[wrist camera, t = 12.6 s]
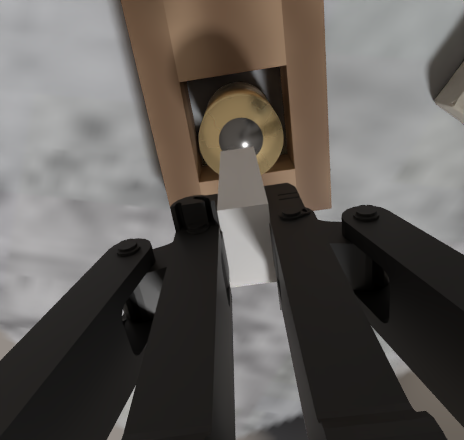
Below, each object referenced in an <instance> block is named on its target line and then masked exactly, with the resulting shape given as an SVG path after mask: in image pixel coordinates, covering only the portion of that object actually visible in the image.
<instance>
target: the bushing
mask: <svg viewBox="0 0 464 440" xmlns="http://www.w3.org/2000/svg"><path fill="white" fill-rule="evenodd" d="M283 140H284V137H283V128H282V125H281V122H280V120H279V118H278V116H277V114H276V113H275V111H274V110H273V108H272V106H271V105H270V103H269V102H268V100H267V99H266V97H265V95H264V94H263V93H262V92H261V91H260V90H259V89H258V88H256V87H255V86H253V85H251V84H249V83H245V82H232V83H229V84H226V85H224V86H222V87H221V88H219V89H218V90H217V91H216V92H215V93H214V94H213V95H212V97H211V99H210V101H209V103H208V106H207V108H206V111H205V114H204V117H203V120H202V123H201V126H200V130H199V147H200V151H201V154H202V156H203V158H204V160H205V162H206V163H207V164H208V166H209V167H210V168H211V169H212V170H214V171H215V172H216V173H218V174H219V168H220V151H227V150H234V149H240V148H247V147H254V150H255V154H256V158H257V162H258V166H259V169H260V173H261V175H262V174H264V173H265V172H267V171H268V170H269V169H270V168H271V167H272V166H273V165H274V164H275V162H276V161H277V159H278V158H279V156H280V153H281V151H282V147H283Z"/></svg>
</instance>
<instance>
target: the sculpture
mask: <svg viewBox="0 0 464 440" xmlns="http://www.w3.org/2000/svg"><path fill="white" fill-rule="evenodd" d="M434 102H435V104H436V105H438V106H439V107H440V108H442V109H443V110H445V111H446V112H448V113H449V114H450V115H452V116H453V117H455V118H456V119H457V120H459V121H460V122H461V123H463V124H464V61H463V63H462V64H461V65H460V67H459V68H458V69H457V71H456V72H455V73H454V75H453V76H452V77H451V79H450V80H449V81H448V83H447V84H446V86H445V87H444V88H443V89H442V91H441V92H440V93H439V95H438V96H437V97H436V99H435V101H434Z"/></svg>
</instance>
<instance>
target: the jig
mask: <svg viewBox="0 0 464 440" xmlns="http://www.w3.org/2000/svg"><path fill="white" fill-rule="evenodd" d="M121 4H122V8H123V12H124V16H125V21H126V25H127V29H128V33H129V37H130V42H131V46H132V50H133V54H134V58H135V62H136V67H137V71H138V75H139V79H140V83H141V88H142V92H143V96H144V100H145V104H146V108H147V113H148V117H149V121H150V125H151V129H152V133H153V138H154V142H155V146H156V150H157V154H158V159H159V163H160V167H161V171H162V175H163V179H164V184H165V188H166V192H167V196H168V200H169V205H170V206H171V205H172V204H173V203H174V202H176V201H177V200H180V199H182V198H185V197H189V196H194V195H212V194H218V186H219V174H218V173H216V172H215V171H214V170H212V169H211V168H210V167H209V166H208V165H206V166H202V161H201V155H200V150H199V145H198V140H197V134H196V129H195V124H194V118H193V113H192V108H191V103H190V97H189V92H188V87H187V81H190V80H196V79H203V78H209V77H215V76H221V75H228V74H234V73H240V72H247V71H253V70H259V69H265V68H272V67H278V66H280V77H281V88H282V99H283V111H284V122H285V134H286V145H287V154H281V155H280V156H279V158H278V159H277V161H276V162H275V164H274V165H273V166H272V167H271V168H270V169H269V170H268V171H267V172H265V173H264V174H262V175H261V177H262V181H263V185H264V186H267V185H274V184H281V183H289V184H291V185H293V186H295V187H296V189H297V191H298V193H299V196H300V198H301V200H302V202H303V204H304V206H305V207H306V208H309V209H311V210H312V211H315V210H323V209H330V208H331V182H330V156H329V130H328V104H327V78H326V52H325V26H324V0H121Z"/></svg>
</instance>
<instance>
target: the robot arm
mask: <svg viewBox="0 0 464 440" xmlns="http://www.w3.org/2000/svg"><path fill="white" fill-rule="evenodd" d="M170 209H171V213H172V217H173V221H174V225H175V230H176V234H175V237H174V241H173V242H172V243H170V244H168V245H165V246H162V247H159V248H155V249H152V246H151V243H150V241H148V240H146V239H139V238H138V239H127V240H124V241H121V242H120V243H118V244H116V245H114V246H113V247H112V248H110V249H109V250H108V251H107V252H106V253H105V254H104V255H103V256H102V257H101V258H100V259H99V260H98V261H97V262H96V263H95V264H94V265H93V266H92V267H91V268H90V269H89V270H88V271H87V272H86V273H85V274H84V275H83V276H82V277H81V278H80V280H79V281H78V282H77V283H76V284H75V285H74V286H73V287H72V288H71V289H70V290H69V291H68V292H67V293H66V294H65V295H64V296H63V297H62V298H61V299H60V300H59V301H58V302H57V303H56V304H55V305H54V306H53V307H52V308H51V309H50V310H49V311H48V312H47V313H46V314H45V315H44V316H43V317H42V319H41V320H40V321H39V322H38V323H37V324H36V325H35V326H34V327H33V328H32V329H31V330H30V331H29V332H28V333H27V334H26V335H25V336H24V337H23V338H22V339H21V340H20V341H19V342H18V343H17V344H16V345H15V346H14V347H13V348H12V349H11V350H10V351H9V352H8V353H7V354H6V355H5V356H4V358H3V359H2V360H1V361H0V440H107V438H108V436H109V434H110V432H111V431H112V429H113V427H114V425H115V423H116V421H117V419H118V417H119V416H120V414H121V412H122V410H123V408H124V406H125V404H126V402H127V401H128V399H129V397H130V395H131V393H132V391H133V389H134V387H135V386H136V388H135V391H134V395H133V399H132V403H131V407H130V411H129V415H128V418H127V422H126V426H125V430H124V434H123V437H122V440H235V400H234V360H233V321H232V294H231V289H230V285H231V287H239V286H246V285H254V284H261V283H269V282H277V285H278V294H279V302H280V310H282V312H283V317H284V322H285V327H286V332H287V337H288V342H289V347H290V352H291V357H292V362H293V367H294V372H295V377H296V382H297V387H298V392H299V397H300V401H301V406H302V411H303V416H304V421H305V426H306V431H307V436H308V440H447V438H446V437H445V435H444V433H443V431H442V430H441V428H440V427H439V425H438V424H437V422H436V421H435V419H434V418H433V417H432V416H431V415H430V414H429V413H428V412H426V411H421V412H416V411H415V410H414V409H413V408H412V406H411V404H410V403H409V401H408V399H407V397H406V395H405V393H404V391H403V389H402V387H401V385H400V383H399V381H398V379H397V377H396V375H395V373H394V371H393V369H392V367H391V365H390V363H389V361H388V359H387V357H386V355H385V353H384V351H383V349H382V347H381V345H380V343H379V341H378V339H377V337H376V335H375V333H374V331H373V329H372V327H373V328H374V329H375V330H376V331H377V333H378V334H379V335H380V336H381V337H382V338H383V339H384V340H385V341H386V342H387V344H388V345H389V346H390V347H391V348H392V349H393V350H394V351H395V352H396V354H397V355H398V356H399V357H400V358H401V359H402V360H403V361H404V362H405V363H406V365H407V366H408V367H409V368H410V369H411V370H412V371H413V372H414V373H415V374H416V375H417V377H418V378H419V379H420V380H421V381H422V382H423V383H424V384H425V385H426V387H427V388H428V389H429V390H430V391H431V392H432V393H433V394H434V395H435V396H436V398H437V399H438V400H439V401H440V402H441V403H442V404H443V405H444V406H445V407H446V409H447V410H448V411H449V412H450V413H451V414H452V415H453V416H454V417H455V419H456V420H457V421H458V422H459V423H460V424H461V425H462V426H463V427H464V255H463V254H461V253H460V252H458V251H456V250H454V249H453V248H451V247H449V246H448V245H446V244H444V243H443V242H441V241H439V240H437V239H436V238H434V237H432V236H431V235H429V234H427V233H426V232H424V231H422V230H420V229H419V228H417V227H415V226H414V225H412V224H410V223H409V222H407V221H405V220H403V219H402V218H400V217H398V216H397V215H395V214H393V213H392V212H390V211H388V210H386V209H384V208H381V207H376V206H373V205H367V206H366V205H360V206H357V207H352V208H350V209H347V210H346V211H344V212H343V213H342V222H329V221H321V220H318V219H317V217H316V215H315V213H314V212H313V211H312V210H311V209H309V208H306V207H305V206H304V204H303V202H302V200H301V198H300V196H299V193H298V191H297V189H296V187H295V186H293V185H291V184H289V183H281V184H274V185H267V186H264V185H263V181H262V177H261V173H260V169H259V166H258V162H257V158H256V154H255V150H254V147H247V148H240V149H234V150H227V151H220V168H219V186H218V194H212V195H194V196H189V197H185V198H182V199H180V200H177V201H176V202H174V203H173V204H172V205H171V206H170ZM229 279H230V283H229ZM122 310H124V314H123V316H122ZM371 326H372V327H371Z"/></svg>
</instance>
